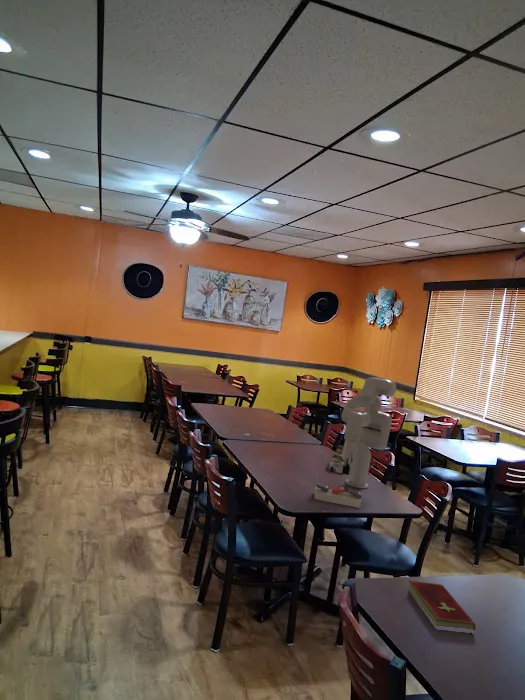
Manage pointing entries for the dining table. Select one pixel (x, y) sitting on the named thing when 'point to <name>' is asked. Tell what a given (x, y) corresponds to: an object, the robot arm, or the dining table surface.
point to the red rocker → (338, 490)
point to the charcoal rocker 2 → (355, 493)
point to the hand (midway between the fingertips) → (345, 473)
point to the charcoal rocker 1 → (322, 486)
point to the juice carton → (336, 464)
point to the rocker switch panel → (337, 497)
